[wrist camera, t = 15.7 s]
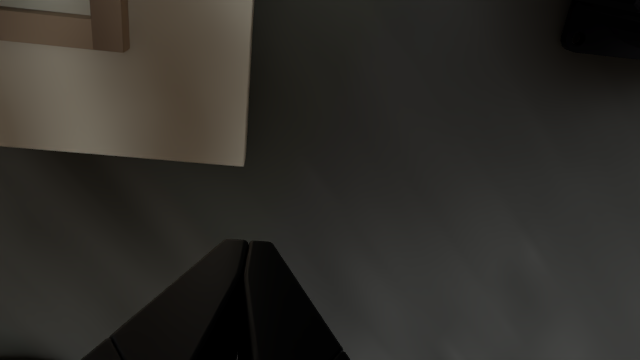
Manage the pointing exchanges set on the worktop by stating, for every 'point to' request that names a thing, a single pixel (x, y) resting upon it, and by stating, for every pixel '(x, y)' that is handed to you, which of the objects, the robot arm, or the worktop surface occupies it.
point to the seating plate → (127, 77)
